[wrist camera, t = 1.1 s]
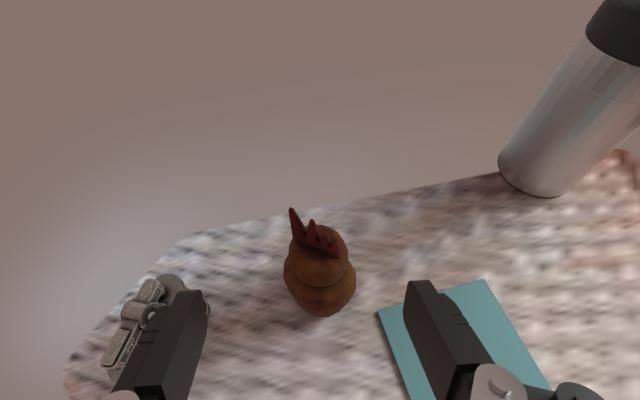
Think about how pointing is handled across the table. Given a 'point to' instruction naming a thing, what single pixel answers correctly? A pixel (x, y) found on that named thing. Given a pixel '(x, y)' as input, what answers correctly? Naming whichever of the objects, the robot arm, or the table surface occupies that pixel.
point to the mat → (485, 323)
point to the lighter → (140, 319)
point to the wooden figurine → (318, 268)
